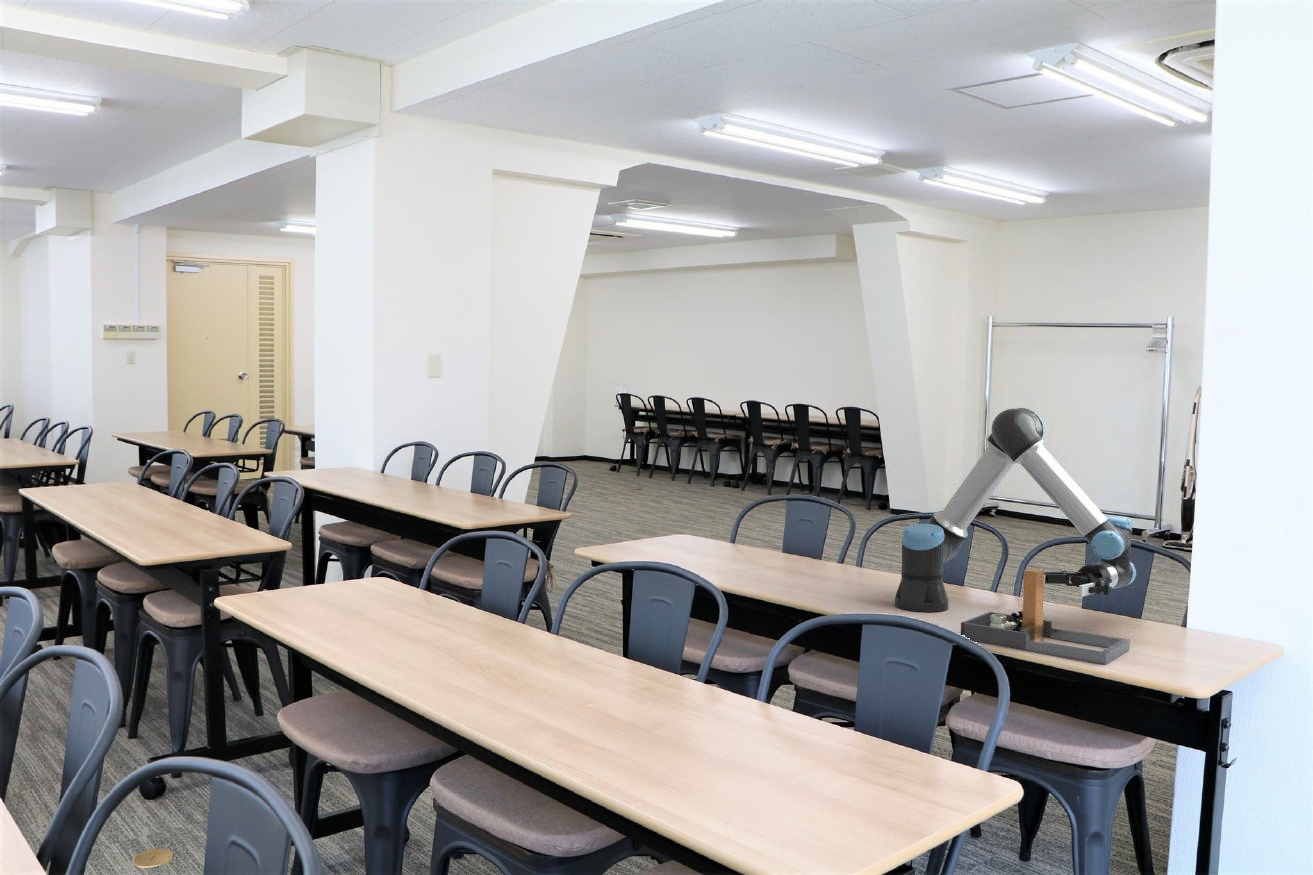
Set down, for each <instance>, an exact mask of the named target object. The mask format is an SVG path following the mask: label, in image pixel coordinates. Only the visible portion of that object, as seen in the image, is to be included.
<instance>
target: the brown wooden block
mask: <svg viewBox="0 0 1313 875" xmlns="http://www.w3.org/2000/svg"><path fill="white" fill-rule="evenodd" d="M1044 572H1045V570H1040V569H1036V568H1035V569H1033V568H1029V569H1025V570H1023V590H1022V591H1023V592H1022V593H1023V595H1022V596H1023V597H1022V598H1023V599H1022V611H1023V625H1022V630H1020V632H1024V633H1027V639H1032V640H1038V641H1043V642H1045V641H1044V640H1045V637H1044V623H1045V622H1043V620H1044V618H1043V615H1044V587H1045V585H1044Z"/></svg>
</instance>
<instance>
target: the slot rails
mask: <svg viewBox="0 0 1313 875" xmlns="http://www.w3.org/2000/svg"><path fill="white" fill-rule="evenodd" d="M1049 638H1050V639H1054V640H1060V641H1065V642H1071V643H1077V644H1084V645H1090V646H1096V647H1102V648H1105V649H1103V650H1102V651H1101V650H1095V649H1089V648H1085V647H1084V648H1083V647H1078V646H1071V645H1065V644H1060V643H1054V642H1048V641H1044V642H1043V641H1038V640H1032V639H1027V640H1026V646H1025V650H1024V651H1027V652H1035V653H1040V654H1045V655H1049V656H1057V657H1059V658H1061V657H1062V658H1068V659H1073V660H1077V661H1084V662H1088V663H1089V662H1090V663H1094V664H1098V665H1099V664H1100V665H1106V666H1107V665H1108V664H1109V663H1110V662H1113V661H1114V660H1116V659H1117V658H1119V657H1121V656H1122V655H1124V654H1125V653H1127V652H1129V651H1130V650H1131V649H1130V645H1131V640H1130V639H1127V638H1121V637H1114V636H1110V635H1103V634H1096V633H1092V632H1085V631H1078V630H1071V629H1067V628H1066V629H1065V628H1060V627H1055V626H1054V627H1053V626H1052V628H1050V637H1049Z"/></svg>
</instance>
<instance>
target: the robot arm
mask: <svg viewBox="0 0 1313 875" xmlns="http://www.w3.org/2000/svg"><path fill="white" fill-rule="evenodd" d="M1044 434H1045V425H1044V421H1043V419H1042V418H1041V417H1040V415H1039V414H1038V413H1037V412H1035V411H1033V410H1031V409H1029V408H1025V407H1018V408H1007V409H1005V410H1002V411H1001V412H999V413H998V414H997V415H996V416H995V418H994V420H993V421H992V423H991V433H990V434H989V436H988V438H986V441H987V443H986V444H987V448H986V449H985V451H984V452H983V453H982V455H981V456H980V458H979V459H978V461H977V462H976V463H975V465H974V466H973V467H972V469H971V470H970V472H969V473H968V474H967V476H966V477H965V478H964V480H963V481H962V483H961V484H960V485H959V487H957V488H958V489H957V490H956V491H955V493H954V494H953V495H952V496H951V498H950V500H949V501H948V502H947V503H946V505H945V507H944V508H943V510H942V511H938V512H934V513H933V514H932V516H931V517H930V518H929V520H928V521H927V523H916V524H910V525H907V526H906V527H904V528H903V530H902V535H901V578H900V582H899V585H898V588H897V590H896V593H895V596H894V606H895V607H897V608H899V609H902V610H907V611H911V612H922V613H923V612H925V613H928V612H929V613H932V612H935V613H936V612H944V611H946V610H947V611H948V609H949V608H950V607H949V601H950V600H949V597H948V595H947V590H946V587H945V584H944V580H943V578H944V564H946V563H948V562H950V561H952V560H953V559H955V557H957V555H958V554H959V552H960V550H961V547H962V544H963V543H964V542H965V541H966V539H967V538H968V536H969V534H968V527H969V526H970V525H971V523H972V522H973V520H974V518H976V517H977V515H978V513H980V511H981V509H982V508H983V507H984V506H985V504H986V503H987V501H988V500H989V498H990V497H991V495H993V493H994V492H995V490H996V489H997V488H998V486H999V485H1000V484H1001V482H1002V480H1003V479H1004V478H1005V476H1006V475H1007V474H1008V473H1009V472H1010V469H1011V468H1012V467H1013V466H1014V465H1015V464H1019V465H1021V466H1022V468H1023V469H1025V471H1026V472H1027V473H1028V474H1029V475H1030V477H1031V478H1032V479H1033V480H1034V481H1035V482H1036V483H1037V485H1038V486H1039V487H1040V488H1041V489H1042V491H1044V492H1045V494H1046V495H1047V496H1048V497H1049V498H1050V500H1052V502H1053V503H1054V504H1055V505H1056V506H1057V507H1058V509H1059V510H1060V511H1061V512H1062V513H1063V514H1064V515H1065V517H1067V519H1068V520H1069V521H1070V522H1071V523H1072V525H1073V526H1074V528H1076V529H1077V530H1078V531H1079V532H1080V534H1081V535H1082V536H1083V537H1084V538H1085V540H1086V541H1087V542H1088V543H1089V545H1090V546H1091V550H1092V552H1093V553H1094V555H1095V556H1096V557H1097V558H1099V559H1100V560H1099V562H1095V563H1091V564H1086V565H1082V566H1081V567H1080V568H1079V570H1078V571H1075V572H1069V571H1066V570H1063V571H1062V570H1061V571H1044V586H1045V585H1047V584H1049V585H1051V584H1052V585H1054V584H1055V585H1064V586H1067V587H1076V588H1078V597H1081V598H1082V597H1087V596H1091V595H1095V594H1097V595H1100V594H1102V593H1103V595H1105V596H1110V590H1113V589H1121V588H1124V587H1126V586H1128V585H1130V584H1132V583H1133V582H1134V581H1135V579H1136V577H1137V570H1136V567H1135V564H1133V562H1132V561H1131V548H1132V547H1131V546H1132V533H1133V528H1132V527H1133V526H1132V519H1130V518H1128V517H1122V516H1106V515H1104V514H1103V512H1102V511H1101V510H1100V509H1099V508H1098V506H1096V504H1095V503H1094V502H1093V501H1092V500H1091V499H1090V497H1089V496H1088V495H1087V494H1086V493H1085V492H1084V491H1083V490H1082V488H1080V486H1079V485H1078V484H1077V483H1076V482H1075V481H1074V480H1073V478H1072V477H1071V475H1069V474H1068V473H1067V471H1065V469H1064V468H1063V467H1062V466H1061V465H1060V463H1059V462H1057V460H1056V459H1055V458H1054V457H1053V456H1052V454H1051V453H1050V452H1049V451H1048V450H1047V449H1046V448H1045V447H1044V446H1045V445H1044V442H1045V441H1044V440H1043V436H1044Z"/></svg>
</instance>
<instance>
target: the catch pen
mask: <svg viewBox="0 0 1313 875" xmlns="http://www.w3.org/2000/svg"><path fill="white" fill-rule="evenodd" d="M992 614H1001V615H1005V616H1006V621H1009V620H1011V619H1012V618H1014V617H1013V616H1011V614H1007V613H1002V612H1001V613H1000V612H994V611H988V612H985V613H982V614H980V615H978V616H974V617H971V618H970V619H966V620H964V621H962V622H960V636H961V635H965V637H967V638H970V639H971V640H970V641H973V640H974V641H973V642H979V643H984V644H991V645H996V646H1002V647H1006V648H1013V649H1019V650H1023V651H1026V650H1025V646H1026V640H1027V633H1024V632H1018V631H1012V630H1006V629H1000V628H994V627H989V626H990V623H991V621H990V615H992ZM1017 620H1022V621H1023V618H1021V617H1019V618H1017V619H1016V621H1017ZM1043 622H1045V623H1044V638H1045V637H1046V638H1050V628H1052V627H1053V621H1051V620H1044V619H1043ZM1019 629H1020V630H1022V627H1021V628H1019Z"/></svg>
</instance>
